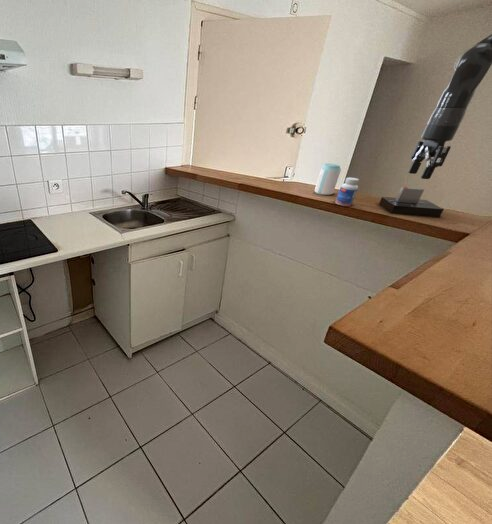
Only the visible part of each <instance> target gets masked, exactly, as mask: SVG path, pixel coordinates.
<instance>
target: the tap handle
mask: <svg viewBox="0 0 492 524" xmlns="http://www.w3.org/2000/svg"><path fill="white" fill-rule="evenodd" d="M424 191H425V188H422V187H407V186H401V187H400V189H399V191H398V194H397V196H396V197H395V198H396V200H395V201H397V202H403V203H418V201H419V199H421V197H422V196H423V193H424Z"/></svg>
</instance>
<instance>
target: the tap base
mask: <svg viewBox="0 0 492 524" xmlns="http://www.w3.org/2000/svg"><path fill="white" fill-rule="evenodd" d="M396 198H397V197H390V196H382V197H381V199H380V201H379V202H378V205H379V206H380V207H381V208H383V209H384V210H386V211H387V212H388V213H389V214H391V215H404V216H414V217H415V216H416V217H427V218H437V219H438V218H440V217H441V215H442V214H443V212H444V210H445V209H444V208H442V207H441V206H439V205H437V204H435V203H433V202H432V201H429V200H428V199H421V198H420V199H419V201H418V203H403V202H397V201H395V200H396Z"/></svg>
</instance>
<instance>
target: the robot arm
mask: <svg viewBox="0 0 492 524" xmlns="http://www.w3.org/2000/svg"><path fill="white" fill-rule="evenodd" d="M453 65H454V66H453V69H454V72H453V74H452V76H451V79H450V81H449V83H448V85H447V87H445V89H444V90H443V92H442V94H441V96H440V98H439V99H438V102H437V105H436V107H435V109H434V110H433V112H432V113H431V115H430V117H429V119H428V121H427V124H426V126H425V128H424V130H423V133H422V134H421V137H420V138H421V140H419V141H417V143H416V145H415V147H414V150H413V151H412V154H411V156H410V160H412V163H411V165H410V168H409V170H408V174H412V175H413V174H414V175H415V174H417V173H418V171H419V170H420V167H421V165H422V162H423V161H426V166H425V168H424V170H423V172H422V174H421V175H420V179H422V180H430V179H431V177H432V175H433V173H434V171H435V169H436V168H438V167H442V166H443V165H444V163H445V161H446V159H447V156H448V155H449V152H450V150H451V145H445V144H446V142H451V141H452V140H453V139H454V137H455V135H456V133H457V131H458V129H459V127H460V125H461V124H462V121H463V120H464V118H465V116H466V115H465V114H466V112H467V110H468V107H469V106H470V103H471V102H472V100H473V98H474V96H475V93H476V90H477V89H478V87H479V86H480V84H481V83H482V81H483V80H484V78H485V76H486V75H487V73H488V72H489V70H490V68H491V67H492V33H491V34H489V35H488V36H486V37H485V38H483V39H482V40H480V41H479V42H477V43H475V44H474V45H473V46H471V47H469V48H468V49H466V50H465V51H464V52H462V53H461V54H460V55H459V56H458V57H457V58H456V60H455V62H454V64H453Z"/></svg>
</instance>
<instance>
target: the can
mask: <svg viewBox="0 0 492 524" xmlns="http://www.w3.org/2000/svg"><path fill="white" fill-rule="evenodd" d="M341 171H342V169H341V165H340V164H337V163H324V164H323V166H322V167H321V168H320V171H319V175H318V178H317V180H316V184H315V188H314V192H315V194H317V195H319V196H320V195H321V196H331V195H333V194H334V192H335V188H336V186H337V183H338V180H339V177H340V174H341Z"/></svg>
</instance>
